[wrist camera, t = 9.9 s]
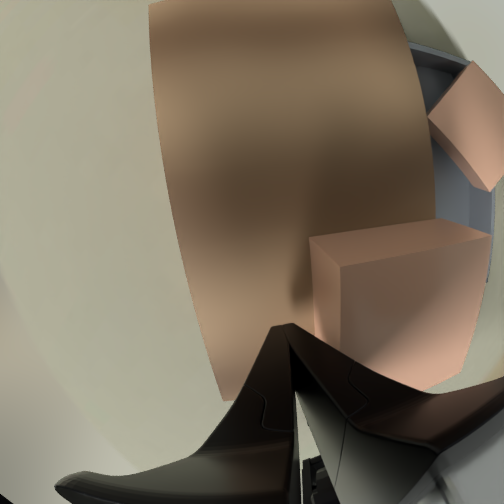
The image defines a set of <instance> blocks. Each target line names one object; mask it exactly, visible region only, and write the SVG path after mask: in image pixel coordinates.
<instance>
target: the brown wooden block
mask: <svg viewBox="0 0 504 504" xmlns="http://www.w3.org/2000/svg"><path fill="white" fill-rule="evenodd" d="M149 35H150V53H151V67H152V79H153V89H154V99H155V108H156V116H157V124H158V132H159V139H160V146H161V152H162V159H163V165H164V171H165V177H166V183H167V188H168V194H169V199H170V204H171V209H172V214H173V219H174V224H175V229H176V234H177V238H178V243H179V247H180V252H181V256H182V260H183V265H184V269H185V273H186V277H187V281H188V285H189V289H190V293H191V297H192V301H193V304H194V308H195V312H196V315H197V319H198V323H199V326H200V330H201V333H202V336H203V340H204V343H205V347H206V350H207V353H208V356H209V360H210V363H211V366H212V369H213V372H214V375H215V378H216V381H217V384H218V387H219V390H220V393H221V396H222V399H223V401H231V400H235V399H236V398H237V396H238V394H239V392H240V390H241V388H242V386H243V384H244V382H245V380H246V378H247V376H248V374H249V372H250V370H251V368H252V366H253V364H254V362H255V359H256V357H257V355H258V353H259V351H260V349H261V347H262V345H263V343H264V340H265V338H266V336H267V334H268V332H269V329H270V328H271V327H272V326H277V325H283V324H287V323H295V324H296V325H298V326H300V327H301V328H303V329H304V330H306V331H308V332H309V333H311V334H312V335H314V336H315V325H314V303H313V285H312V270H311V257H310V245H309V237H314V236H320V235H327V234H334V233H341V232H348V231H354V230H361V229H368V228H375V227H382V226H389V225H396V224H403V223H410V222H417V221H424V220H431V219H436V203H435V180H434V166H433V156H432V147H431V139H430V132H429V126H428V120H427V114H426V109H425V104H424V99H423V95H422V90H421V86H420V82H419V78H418V74H417V71H416V67H415V64H414V60H413V57H412V54H411V51H410V47H409V44H408V42H407V39H406V36H405V33H404V30H403V28H402V25H401V23H400V20H399V18H398V15H397V13H396V10H395V8H394V6H393V4H392V1H391V0H164V1H160V2H157V3H153V4H150V5H149Z"/></svg>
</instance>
